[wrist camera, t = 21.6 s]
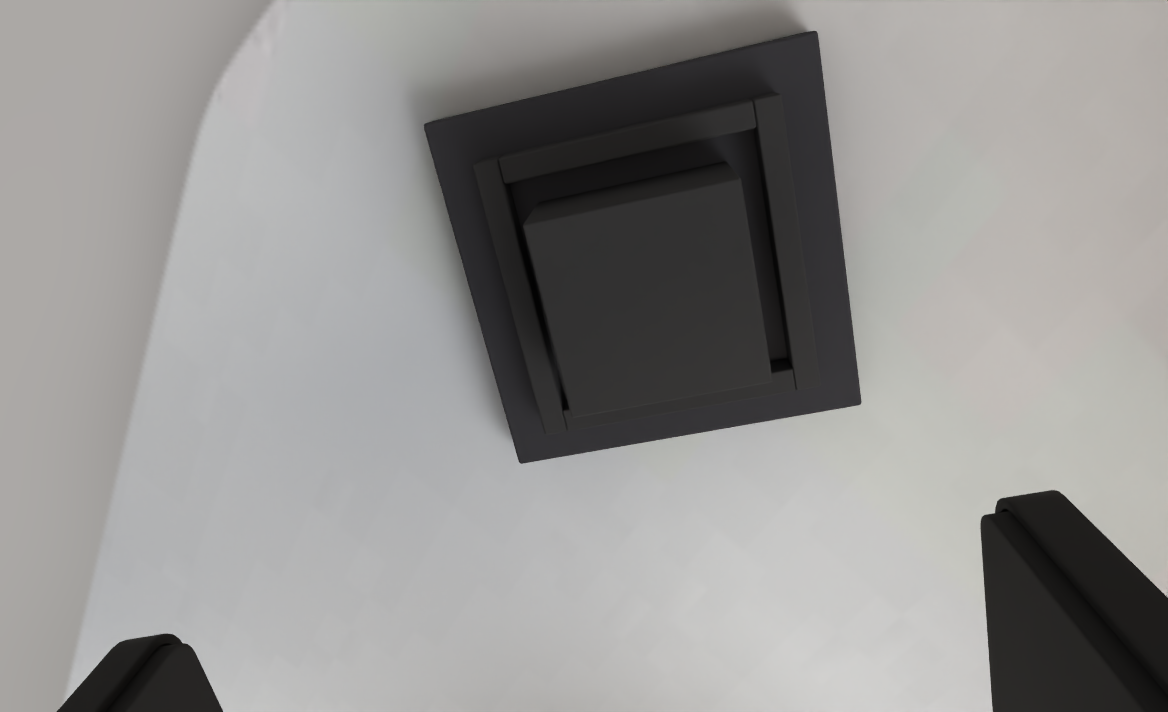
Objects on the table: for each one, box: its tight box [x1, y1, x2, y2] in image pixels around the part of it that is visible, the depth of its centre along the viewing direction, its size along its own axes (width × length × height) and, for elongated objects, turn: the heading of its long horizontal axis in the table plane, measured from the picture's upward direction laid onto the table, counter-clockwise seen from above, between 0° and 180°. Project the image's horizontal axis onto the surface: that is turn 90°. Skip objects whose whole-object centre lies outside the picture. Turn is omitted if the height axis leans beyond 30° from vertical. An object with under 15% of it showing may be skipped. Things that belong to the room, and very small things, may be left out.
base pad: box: [424, 31, 861, 464], centre depth 26 cm, size 12×12×2 cm
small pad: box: [523, 161, 773, 418], centre depth 24 cm, size 6×6×4 cm
